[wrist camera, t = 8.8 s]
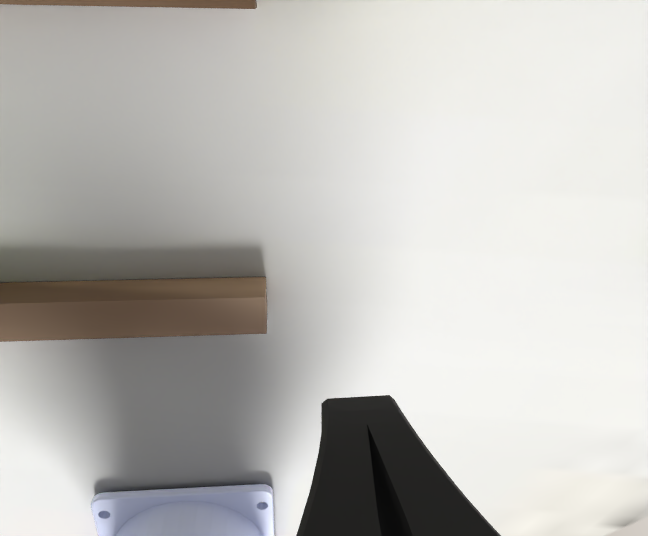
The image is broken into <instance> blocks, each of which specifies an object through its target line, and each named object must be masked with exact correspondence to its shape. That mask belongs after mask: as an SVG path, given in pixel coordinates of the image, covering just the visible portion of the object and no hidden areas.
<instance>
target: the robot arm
mask: <svg viewBox="0 0 648 536" xmlns="http://www.w3.org/2000/svg"><path fill="white" fill-rule="evenodd" d="M261 502H263V503H261ZM91 508H92V512H93V516H94V520H95V524H96V528H97V532H98V536H275V535H274V506H273V490H272V488H271V487H270V486H268V485H266V484H254V485H235V486H216V487H197V488H178V489H159V490H141V491H122V492H103V493H98V494H97V495H95V496H94V498H93V500H92V503H91ZM296 536H501V535H500V534H499V533H498V532H497V531H496V530H495V529H494V528H493V527H492V526H491V525H490V524H489V523H488V522H487V520H486V519H485V518H484V517H483V516H482V515H481V514H480V512H479V511H478V510H477V509H476V508H475V507H474V506H473V505H472V503H471V502H470V501H469V500H468V499H467V498H466V497H465V495H464V494H463V493H462V492H461V491H460V489H459V488H458V487H457V486H456V485H455V483H454V482H453V481H452V480H451V478H450V477H449V476H448V475H447V473H446V472H445V471H444V469H443V468H442V467H441V466H440V464H439V463H438V462H437V461H436V459H435V458H434V457H433V455H432V454H431V453H430V451H429V450H428V449H427V447H426V446H425V445H424V443H423V442H422V440H421V439H420V438H419V436H418V435H417V434H416V432H415V431H414V429H413V428H412V426H411V425H410V423H409V422H408V420H407V419H406V417H405V416H404V414H403V413H402V411H401V410H400V408H399V407H398V405H397V403H396V402H395V400H394V399H393V398H392V397H391V396H390V395H386V396H368V397H351V398H333V399H327V400H325V401H324V402H323V403H322V434H321V441H320V447H319V454H318V458H317V463H316V467H315V472H314V476H313V481H312V485H311V489H310V493H309V496H308V499H307V503H306V506H305V509H304V513H303V516H302V519H301V523H300V526H299V529H298V532H297V535H296Z"/></svg>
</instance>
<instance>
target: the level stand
mask: <svg viewBox="0 0 648 536" xmlns="http://www.w3.org/2000/svg"><path fill="white" fill-rule="evenodd" d="M0 4H16V5H71V6H126V7H181V8H236V9H255V8H257V3H256V0H0ZM265 333H267V296H266V277H239V278H193V279H147V280H102V281H56V282H11V283H0V342H2V341H35V340H68V339H101V338H134V337H167V336H200V335H233V334H265Z"/></svg>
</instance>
